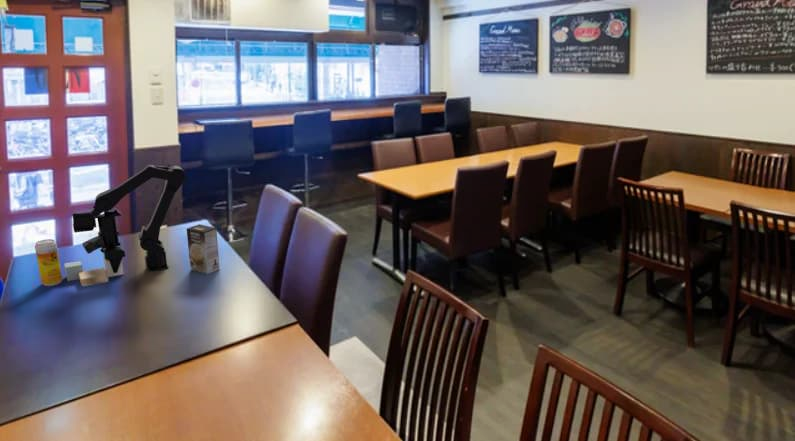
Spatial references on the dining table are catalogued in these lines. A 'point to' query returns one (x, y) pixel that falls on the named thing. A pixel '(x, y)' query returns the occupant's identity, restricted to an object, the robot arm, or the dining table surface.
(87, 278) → the beech slab
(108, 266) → the white block
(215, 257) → the coffee box
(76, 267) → the teal grey cube
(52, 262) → the beer can
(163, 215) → the robot arm
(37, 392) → the dining table surface
